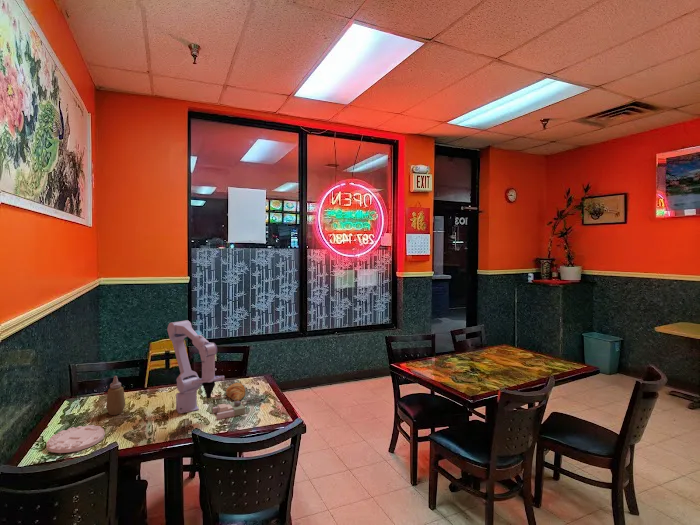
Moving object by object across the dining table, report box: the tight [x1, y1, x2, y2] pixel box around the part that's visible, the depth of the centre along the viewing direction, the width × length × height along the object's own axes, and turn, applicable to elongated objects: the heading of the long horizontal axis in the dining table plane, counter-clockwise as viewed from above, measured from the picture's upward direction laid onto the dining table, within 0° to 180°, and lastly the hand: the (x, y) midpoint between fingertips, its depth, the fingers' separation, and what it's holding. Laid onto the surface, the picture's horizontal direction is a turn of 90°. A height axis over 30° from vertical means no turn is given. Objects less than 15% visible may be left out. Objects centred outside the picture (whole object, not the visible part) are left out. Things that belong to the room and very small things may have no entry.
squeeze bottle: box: [105, 375, 126, 416], centre depth 194 cm, size 8×8×18 cm
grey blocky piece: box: [212, 400, 246, 420], centre depth 196 cm, size 13×10×5 cm
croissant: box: [225, 382, 246, 402], centre depth 218 cm, size 21×10×8 cm, turn 21°
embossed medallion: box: [46, 424, 106, 454], centre depth 166 cm, size 20×20×3 cm
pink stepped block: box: [217, 402, 233, 413], centre depth 195 cm, size 6×5×4 cm
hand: (208, 397), depth 190 cm, fingers closed
